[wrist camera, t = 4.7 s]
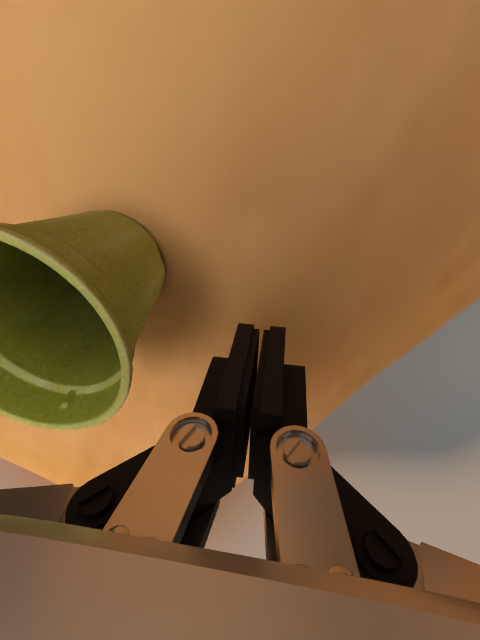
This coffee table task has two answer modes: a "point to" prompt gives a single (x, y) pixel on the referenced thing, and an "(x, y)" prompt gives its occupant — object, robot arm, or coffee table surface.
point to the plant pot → (73, 316)
